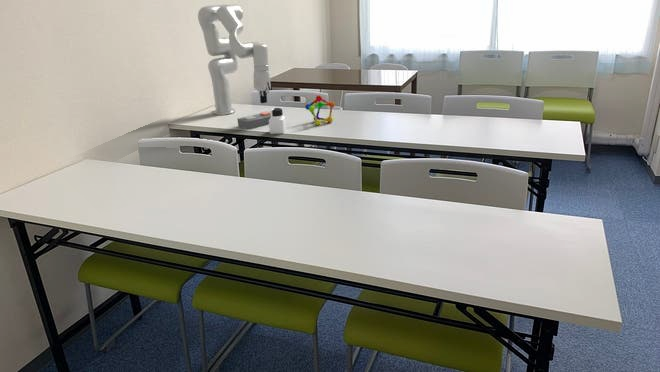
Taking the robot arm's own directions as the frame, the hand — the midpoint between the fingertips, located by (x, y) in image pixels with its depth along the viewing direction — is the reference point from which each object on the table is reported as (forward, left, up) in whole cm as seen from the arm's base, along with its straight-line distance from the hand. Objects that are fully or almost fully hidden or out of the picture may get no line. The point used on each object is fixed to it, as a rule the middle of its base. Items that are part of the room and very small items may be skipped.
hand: (263, 102), depth 263 cm
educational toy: (+24, +18, -11) cm, 32 cm away
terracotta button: (+1, 0, -9) cm, 9 cm away
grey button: (+1, -10, -10) cm, 14 cm away
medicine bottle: (+22, -7, -11) cm, 25 cm away
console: (+1, -5, -11) cm, 12 cm away
